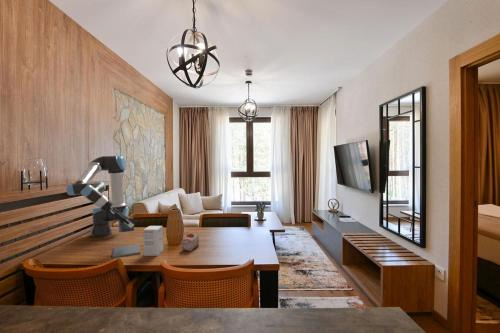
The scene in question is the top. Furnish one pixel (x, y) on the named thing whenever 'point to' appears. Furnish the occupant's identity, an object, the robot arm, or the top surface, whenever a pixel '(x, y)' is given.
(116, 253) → the slate board
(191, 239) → the food item
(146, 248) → the supplement box
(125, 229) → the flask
